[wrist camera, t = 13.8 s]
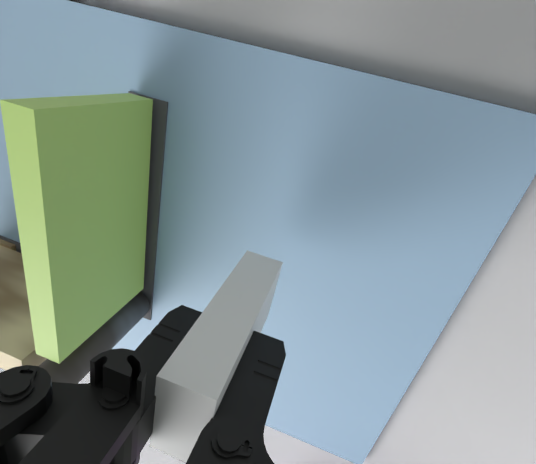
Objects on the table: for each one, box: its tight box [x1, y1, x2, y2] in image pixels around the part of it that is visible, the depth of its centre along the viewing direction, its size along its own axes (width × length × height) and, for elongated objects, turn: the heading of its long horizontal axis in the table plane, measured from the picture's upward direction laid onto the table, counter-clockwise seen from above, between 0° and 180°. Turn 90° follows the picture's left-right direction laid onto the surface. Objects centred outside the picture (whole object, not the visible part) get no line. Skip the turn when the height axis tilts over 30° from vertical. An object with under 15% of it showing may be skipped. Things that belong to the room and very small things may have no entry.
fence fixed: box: [0, 239, 150, 384], centre depth 19 cm, size 11×2×8 cm, turn 77°
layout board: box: [0, 0, 536, 464], centre depth 19 cm, size 28×21×1 cm
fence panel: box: [0, 93, 153, 364], centre depth 15 cm, size 10×1×6 cm, turn 168°
